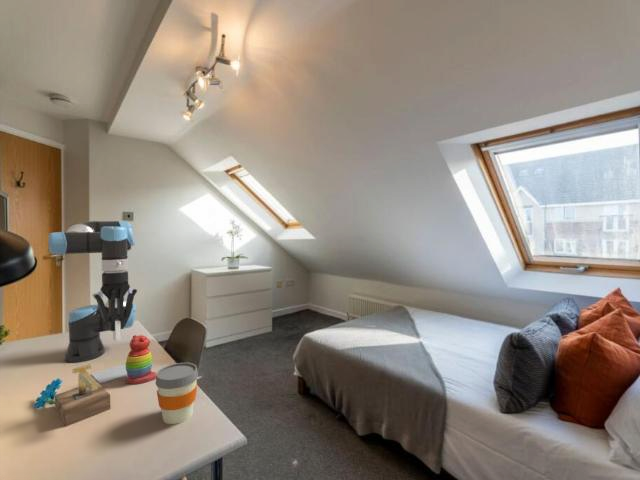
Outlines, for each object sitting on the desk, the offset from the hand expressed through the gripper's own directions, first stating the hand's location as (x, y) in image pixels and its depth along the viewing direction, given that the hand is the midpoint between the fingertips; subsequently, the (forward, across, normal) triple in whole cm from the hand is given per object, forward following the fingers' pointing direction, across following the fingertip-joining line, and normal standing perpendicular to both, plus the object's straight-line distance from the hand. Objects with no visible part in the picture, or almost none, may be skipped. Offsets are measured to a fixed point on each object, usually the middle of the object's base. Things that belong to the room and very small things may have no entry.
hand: (116, 339), depth 108 cm
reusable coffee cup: (+23, +10, -22) cm, 34 cm away
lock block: (+23, -9, +6) cm, 25 cm away
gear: (+23, -16, +19) cm, 34 cm away
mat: (+23, +6, +27) cm, 36 cm away
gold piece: (+17, -9, -1) cm, 19 cm away
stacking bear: (+23, +12, +14) cm, 30 cm away
